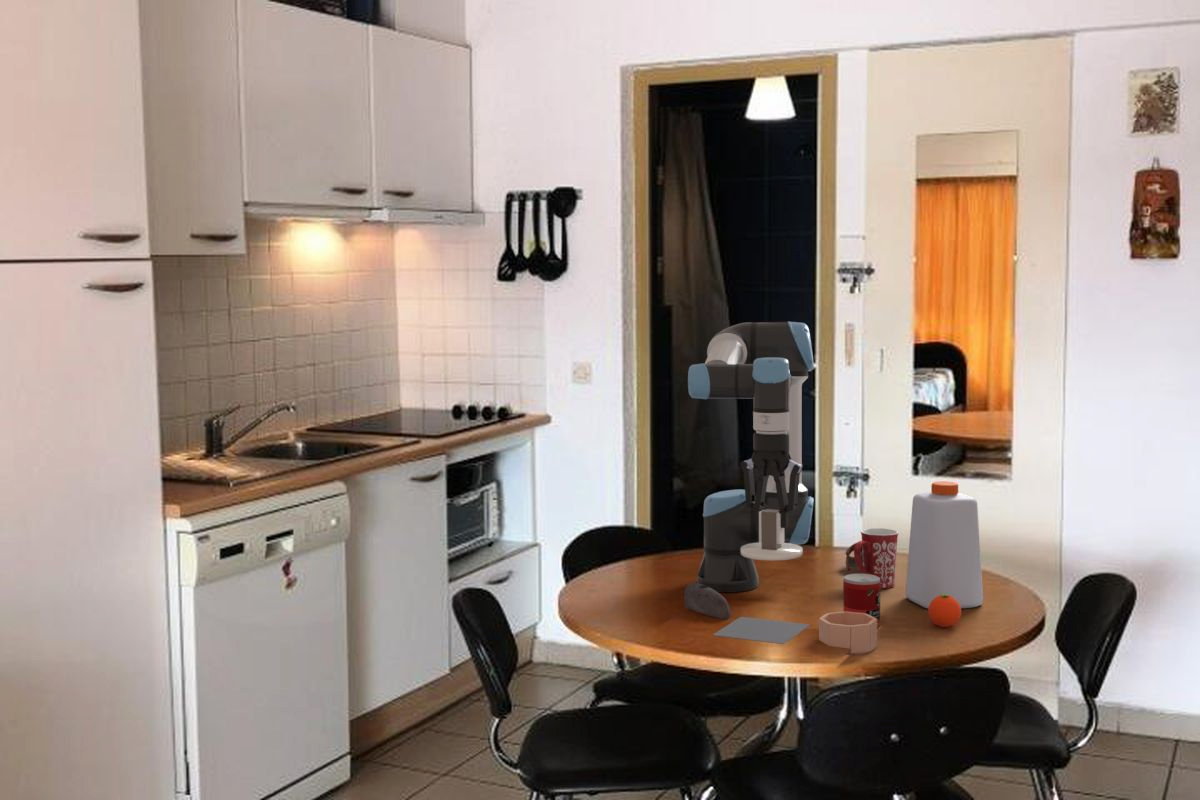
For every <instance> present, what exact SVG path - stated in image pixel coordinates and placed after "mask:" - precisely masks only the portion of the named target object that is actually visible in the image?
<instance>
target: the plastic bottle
mask: <svg viewBox="0 0 1200 800" xmlns="http://www.w3.org/2000/svg"><path fill="white" fill-rule="evenodd" d="M930 488H931V491H929V492H920V493H916V494H915V495H914V496H913V498H912V503H911V504H912V505H911V518H910V530H909V544H908V555H907V556H908V557H907V568H906V569H907V570H906V584H905V596H906V598H907V599H908V600H909V601H911V602H913V603H915V604H916V605H918V606H920V607H922V608H924V609H928V610H929V605H930V603H931V602H932V600H933V599H934V598H936V597H937V596H940V594H946V595H948V596H951V597H953V598H954V599H956V600H957V601H958V603H959V605H960V607H961V610H962V609H970V608H977V607H979V606H980V605H982V603H983V602H984V594H983V578H982V562H981V561H982V559H981V545H980V544H981V542H980V541H981V540H980V529H979V528H980V527H979V526H980V525H979V511H978V508H979V507H978V501H977V499H975V498H974V497H972V496H971V495H970V496H969V495H968V494H964V493H961V492H959V484H958V483H957V482H955V481H948V480H947V481H933V482H932V483H931V487H930Z"/></svg>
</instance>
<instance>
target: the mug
mask: <svg viewBox="0 0 1200 800" xmlns="http://www.w3.org/2000/svg"><path fill="white" fill-rule="evenodd" d="M860 534H861V540H860V541H857V542H855V543H856V545H855V548H854V551H853V557H855V561H856V564H857V566H858V567H857V569H859V571H860V574H870V575H875V576H877V577H879V578H880V590H882V589H883V588H887V589H892V588H894V587H893V586H895V580H896V566H897V551H898V550H897V549H898V536H899V531H898V530H895V529H892V528H884V527H883V528H882V527H878V528H877V527H876V528H875V527H873V528H872V527H871V528H869V527H868V528H865V529H861V530H860ZM861 547H862V552H863V563H862V561H861V557H860V551H861ZM891 587H892V588H891ZM883 590H884V589H883Z"/></svg>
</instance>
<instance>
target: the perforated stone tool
mask: <svg viewBox="0 0 1200 800" xmlns="http://www.w3.org/2000/svg"><path fill="white" fill-rule="evenodd" d="M683 598H684V599H683V603H684V606H685V607H686V609H687V610H691V611H693V612H697V613H699V614H702V615H706V616H709V617H712V618H716V619H723V620H728V619H729V618H730V616H731V609H730V605H729V603H728V601H727V599H726V598H725V597H724V596H723V595H722V594H721V593H720V592H717V591H715V590H713V589H712V588H710V587H708V586H705V585H702V584H699V583H697V582H691V583H690V584H687V586H686V587H685V589H684V595H683Z"/></svg>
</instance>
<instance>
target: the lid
mask: <svg viewBox="0 0 1200 800" xmlns="http://www.w3.org/2000/svg"><path fill="white" fill-rule="evenodd" d="M778 511H780V510H773V509H766V510H764V511H762V512H761V529H762V543H761V542H758V543H751V544H746V545H743V546H742V547H741V555H742V556H744V557H746V558H750V559H753V560H758V561H787V560H795V559H797V558H801V557H803V554H804V551H803V547H802V546H801V545H795V544H790V543H781V544H776V513H778Z"/></svg>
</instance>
